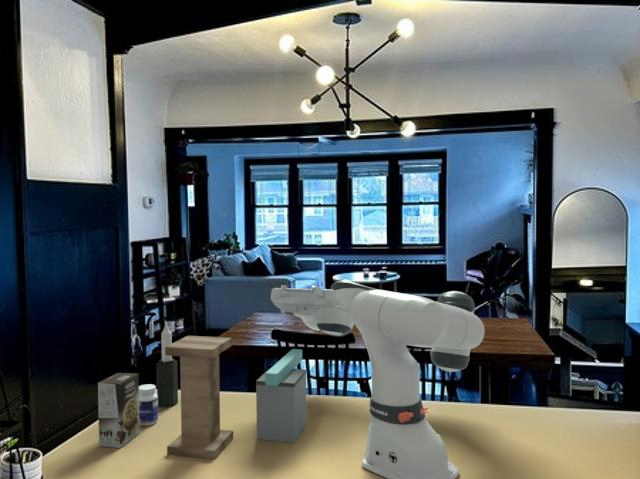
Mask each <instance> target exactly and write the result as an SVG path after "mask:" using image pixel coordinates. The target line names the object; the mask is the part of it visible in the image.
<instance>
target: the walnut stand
mask: <svg viewBox="0 0 640 479" xmlns="http://www.w3.org/2000/svg"><path fill="white" fill-rule="evenodd" d="M232 346H233V338H232V337H223V336H220V337H219V336H202V335H201V336H199V335H186V336H184V337H183V338H180V339H179V340H176V341H175V342H172V344H170V345H168V346H166V347H165V355H166V356H172V357H179V368H180V369H179V370H180V373H179V374H180V376H179V378H180V380H179V381H180V414H181V415H180V421H181V422H180V423H181V424H180V426H181V428H180V429H181V433H180V435H179V436H178V437H177V438H175V439H174V440H173V441H172V442H171V443H169V444H168V445H167V446H166V449H167V450H166V452H167V453H166V454H167V455H168V456H177V457H189V458H197V459H208V460H215V459H216V458H217V457H218V456H219V454H221V453H222V451H224V449H225V448H226V447H227V446H228V445H229V444H230V443H231V441H232V440H233V439H234V430H227V429H221V406H220V404H221V398H220V354H221V353H223V352H224V351H226V350H227V349H229V348H230V347H232Z"/></svg>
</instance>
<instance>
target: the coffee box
mask: <svg viewBox="0 0 640 479" xmlns="http://www.w3.org/2000/svg"><path fill="white" fill-rule="evenodd" d="M139 375H140V374H139V373H135V372H134V373H130V372H116V373H115V374H112V375H110V376H109V377H107V378H104V379H103V380H100V381H98V382H97V402H98V403H97V406H98V408H97V410H98V417H97V418H98V446H99V447H106V448H107V447H109V448H117V449H121V448H123V447H125V445H127V444H128V443H129V442H131V441H132V440H134V439H135V438H136V437H137V436H139V435H141V434H140V433H141V432H140V427H141V425H140V421H139V386H140V382H139V380H140V378H139V377H140V376H139Z"/></svg>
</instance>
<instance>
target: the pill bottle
mask: <svg viewBox="0 0 640 479" xmlns="http://www.w3.org/2000/svg"><path fill="white" fill-rule="evenodd" d="M139 421H140V426H143V427H144V426H151V425H155V424H157V422H158V421H159V407H158V396H157V385H155V384H151V383H149V384H141V385H139Z"/></svg>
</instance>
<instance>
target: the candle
mask: <svg viewBox="0 0 640 479" xmlns="http://www.w3.org/2000/svg"><path fill="white" fill-rule="evenodd" d="M160 337H161V359H159V360H158V362H157V363H156V394H157V396H158V408H160V407H163V408H173V407H174V406H176V405H177V404H178V403H179V391H178V390H179V388H178V387H179V384H178V383H179V380H178V378H179V377H178V360H176V359H175V358H173V356H166V355H165V347H166V346H168V345H170V344H172V343H173V342H172V331H171V330H170V327H169V325H168V322H167V321H165V322H164V328H163V330H162V331H161V336H160Z"/></svg>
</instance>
